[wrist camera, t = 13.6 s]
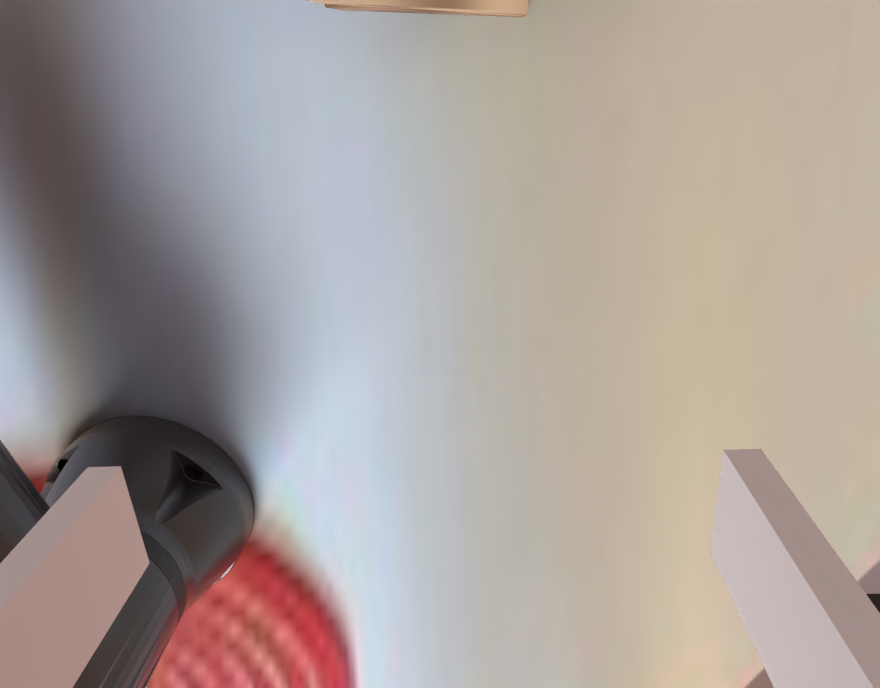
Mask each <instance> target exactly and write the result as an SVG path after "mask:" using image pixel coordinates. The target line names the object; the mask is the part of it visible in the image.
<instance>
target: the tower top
mask: <svg viewBox="0 0 880 688" xmlns="http://www.w3.org/2000/svg"><path fill="white" fill-rule="evenodd" d="M308 1H312V2H317V3H322V4H337V5H353V6H368V7H384V8H400V9H415V10H431V11H447V12H462V13H478V14H494V15H509V16H524V15H525V14H527V12H528V3H529V0H308Z"/></svg>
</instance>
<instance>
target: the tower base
mask: <svg viewBox="0 0 880 688" xmlns="http://www.w3.org/2000/svg"><path fill="white" fill-rule="evenodd" d="M325 7H327V8H332V9H338V10H349V11H375V12H401V13H427V14H453V15H479V16H506V17H523V16H509V15H494V14H478V13H462V12H447V11H431V10H415V9H400V8H384V7H368V6H353V5H337V4H325ZM525 15H526V14H525ZM525 15H524V16H525Z"/></svg>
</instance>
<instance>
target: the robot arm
mask: <svg viewBox="0 0 880 688" xmlns="http://www.w3.org/2000/svg"><path fill="white" fill-rule="evenodd" d="M253 519H254V509H253V502H252V497H251V494H250V491H249V488H248V486H247V483H246V481H245V479H244V478H243V476H242V474H241V472H240V471H239V469H238V468H237V467H236V465H235V464H234V463H233V462H232V460H231V459H230V458H229V457H228V456H227V455H226V454H225V453H224V452H223V451H222V450H221V449H220V448H218V447H217V446H216V445H215V444H213V443H212V442H211V441H209V440H208V439H206V438H205V437H203V436H202V435H200V434H198V433H196V432H194V431H193V430H190V429H188V428H186V427H184V426H181V425H179V424H176V423H173V422H170V421H166V420H162V419H157V418H150V417H122V418H116V419H111V420H108V421H104V422H102V423H99V424H97V425H95V426H93V427H91V428H89V429H88V430H86V431H85V432H84V433H82V434H81V435H80V436H79V437H78V438H77V439H76V440H75V441H74V442H73V443H72V444H71V445H70V446H68V447H67V448H66V449H65V450H64V451H63V453H62V454H61V455H60V456H59V457H58V459H57V460H56V461H55V463H54V464H53V466H52V468H51V470H50V472H49V474H48V476H47V479H46V482H45V484H44V487H43V489H42V492H41V494H40V493H39V492H38V490H37V489H36V488H35V486H34V485H33V484H32V482H31V481H30V480H29V478H28V477H27V475H26V474H25V473H24V471H23V470H22V469H21V467H20V466H19V465H18V463H17V462H16V461H15V459H14V458H13V456H12V455H11V454H10V452H9V451H8V450H7V448H6V447H5V446H4V444H3V443H2V442H1V440H0V688H145V687H146V685H147V683H148V682H149V680H150V678H151V676H152V674H153V672H154V670H155V668H156V666H157V664H158V662H159V660H160V658H161V656H162V654H163V652H164V650H165V648H166V646H167V644H168V642H169V640H170V638H171V636H172V634H173V632H174V630H175V628H176V626H177V624H178V623H179V621H180V619H181V617H182V615H183V613H184V612H185V611H186V610H187V609H188V608H189V607H190V606H191V605H192V604H194V603H195V602H196V601H197V600H198V599H199V598H200V597H201V596H202V595H203V594H204V593H205V592H206V591H207V590H208V589H209V588H210V587H211V586H212V585H214V584H215V583H217V582H218V581H219V580H220V579H222V578H223V577H224V576H225V575H226V574H227V573H228V572H229V571H230V570H231V569H232V567H233V566H234V565H235V563H236V562H237V560H238V559H239V557H240V555H241V553H242V551H243V549H244V547H245V545H246V543H247V541H248V539H249V536H250V534H251V530H252V526H253ZM710 554H711V556H712V558H713V560H714V562H715V564H716V566H717V569H718V571H719V573H720V575H721V577H722V579H723V581H724V583H725V585H726V588H727V590H728V592H729V594H730V596H731V598H732V600H733V602H734V604H735V606H736V609H737V611H738V613H739V615H740V617H741V619H742V621H743V623H744V625H745V628H746V630H747V632H748V634H749V636H750V638H751V640H752V642H753V644H754V646H755V649H756V651H757V653H758V655H759V657H760V659H761V661H762V663H763V665H764V667H765V670H766V672H767V674H768V676H769V678H770V680H771V682H772V684H773V686H774V688H880V594H866V593H865V592H864V591H863V589H862V588H861V587H860V585H859V584H858V582H857V581H856V580H855V578H854V577H853V575H852V574H851V573H850V571H849V570H848V569H847V567H846V566H845V564H844V563H843V562H842V560H841V559H840V558H839V556H838V555H837V553H836V552H835V551H834V549H833V548H832V546H831V545H830V544H829V542H828V541H827V540H826V538H825V537H824V535H823V534H822V533H821V531H820V530H819V529H818V527H817V526H816V524H815V523H814V522H813V520H812V519H811V517H810V516H809V515H808V513H807V512H806V511H805V509H804V508H803V506H802V505H801V504H800V502H799V501H798V500H797V498H796V497H795V495H794V494H793V493H792V491H791V490H790V489H789V487H788V486H787V484H786V483H785V482H784V480H783V479H782V477H781V476H780V475H779V473H778V472H777V471H776V469H775V468H774V466H773V465H772V464H771V462H770V461H769V460H768V458H767V457H766V455H765V454H764V453H763V451H762V450H761V449H740V450H724V451H723V458H722V466H721V473H720V481H719V489H718V496H717V504H716V512H715V519H714V527H713V535H712V542H711V550H710Z"/></svg>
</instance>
